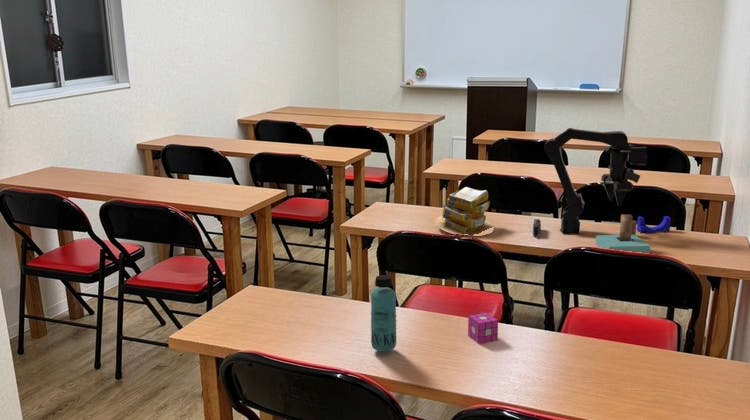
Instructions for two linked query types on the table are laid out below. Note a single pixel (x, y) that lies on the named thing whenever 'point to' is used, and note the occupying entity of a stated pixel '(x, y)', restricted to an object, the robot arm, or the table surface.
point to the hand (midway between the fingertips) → (615, 203)
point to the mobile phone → (536, 228)
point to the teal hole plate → (622, 243)
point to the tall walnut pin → (625, 227)
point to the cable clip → (660, 228)
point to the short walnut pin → (633, 228)
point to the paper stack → (465, 212)
